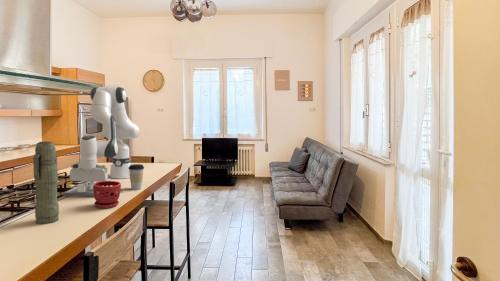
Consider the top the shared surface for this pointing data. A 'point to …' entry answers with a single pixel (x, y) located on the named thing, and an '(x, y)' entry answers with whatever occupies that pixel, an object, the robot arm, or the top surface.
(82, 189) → the lever
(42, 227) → the top surface
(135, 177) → the coffee cup
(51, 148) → the thermos
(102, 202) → the plant pot
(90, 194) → the breaker panel
